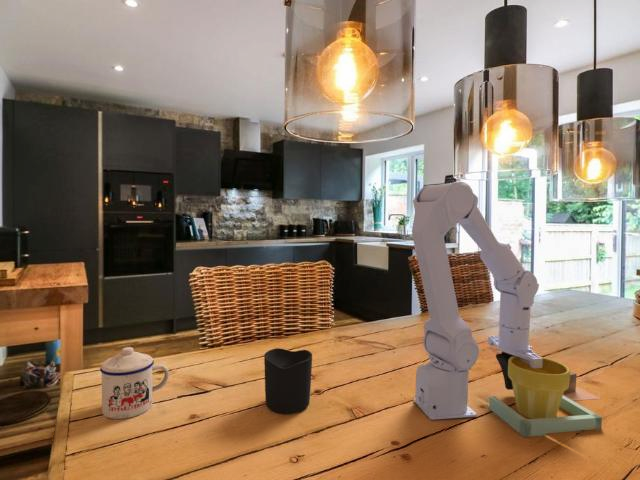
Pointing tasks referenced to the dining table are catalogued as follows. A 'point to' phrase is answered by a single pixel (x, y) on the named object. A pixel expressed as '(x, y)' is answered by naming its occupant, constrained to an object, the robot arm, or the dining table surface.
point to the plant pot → (538, 386)
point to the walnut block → (571, 384)
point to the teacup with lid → (128, 384)
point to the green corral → (547, 419)
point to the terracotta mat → (580, 395)
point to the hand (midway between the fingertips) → (511, 388)
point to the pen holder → (287, 380)
